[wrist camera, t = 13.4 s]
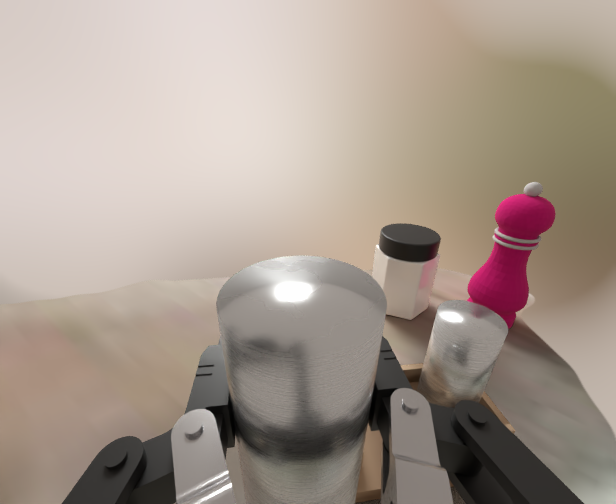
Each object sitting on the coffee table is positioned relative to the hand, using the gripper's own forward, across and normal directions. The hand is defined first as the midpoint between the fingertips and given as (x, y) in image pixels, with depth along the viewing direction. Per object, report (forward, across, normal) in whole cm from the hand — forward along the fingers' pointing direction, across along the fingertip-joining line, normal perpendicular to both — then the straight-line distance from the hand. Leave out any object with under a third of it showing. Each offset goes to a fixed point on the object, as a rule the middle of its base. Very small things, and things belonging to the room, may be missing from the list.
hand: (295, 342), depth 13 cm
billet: (-3, 0, +6) cm, 7 cm away
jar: (+26, -18, +18) cm, 36 cm away
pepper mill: (+21, -31, +18) cm, 41 cm away
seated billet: (+7, -15, +16) cm, 23 cm away
